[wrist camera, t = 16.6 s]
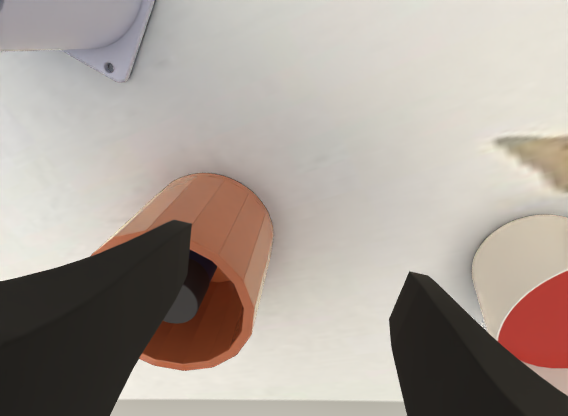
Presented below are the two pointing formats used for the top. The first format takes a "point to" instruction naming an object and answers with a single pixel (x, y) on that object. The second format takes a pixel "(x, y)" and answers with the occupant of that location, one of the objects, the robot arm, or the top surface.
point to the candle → (527, 292)
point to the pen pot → (223, 252)
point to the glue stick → (192, 289)
